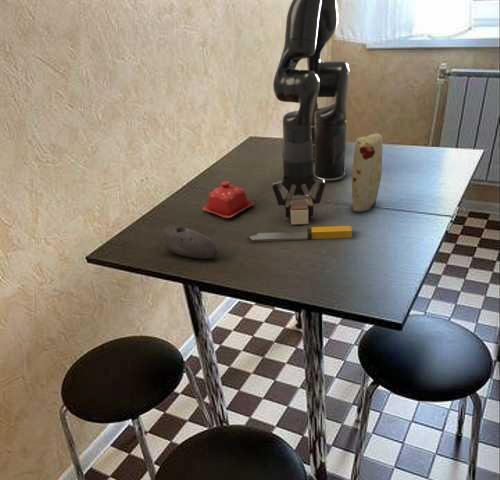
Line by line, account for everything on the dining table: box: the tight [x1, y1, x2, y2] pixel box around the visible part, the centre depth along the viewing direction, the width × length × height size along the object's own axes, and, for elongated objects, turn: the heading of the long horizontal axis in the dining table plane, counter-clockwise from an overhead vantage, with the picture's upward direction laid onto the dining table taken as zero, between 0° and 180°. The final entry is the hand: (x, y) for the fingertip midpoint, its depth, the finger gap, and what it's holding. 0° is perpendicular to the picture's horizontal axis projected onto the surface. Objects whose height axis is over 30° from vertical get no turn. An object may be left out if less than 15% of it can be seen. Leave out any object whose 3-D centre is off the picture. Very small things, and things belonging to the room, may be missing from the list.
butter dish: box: [202, 180, 255, 219], centre depth 138 cm, size 12×12×8 cm
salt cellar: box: [290, 199, 309, 225], centre depth 131 cm, size 5×6×4 cm
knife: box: [249, 225, 353, 243], centre depth 124 cm, size 26×3×2 cm, turn 86°
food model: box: [351, 133, 383, 212], centre depth 129 cm, size 10×7×20 cm
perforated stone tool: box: [161, 224, 219, 260], centre depth 120 cm, size 15×5×7 cm, turn 60°
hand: (299, 217), depth 132 cm, fingers closed on salt cellar, 4 cm apart
